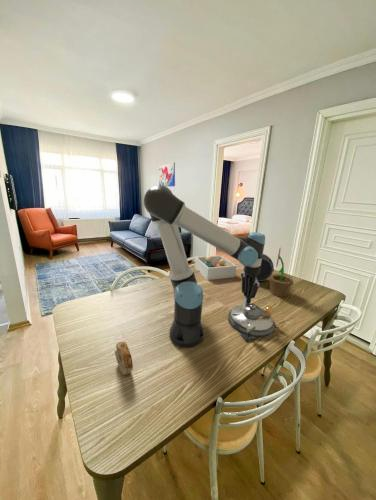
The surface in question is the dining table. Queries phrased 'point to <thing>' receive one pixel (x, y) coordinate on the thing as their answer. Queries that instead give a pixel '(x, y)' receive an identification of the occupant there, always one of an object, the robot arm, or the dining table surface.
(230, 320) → the turntable base
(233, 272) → the parts crate
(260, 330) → the turntable
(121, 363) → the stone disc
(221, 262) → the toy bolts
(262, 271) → the dark decorated bowl
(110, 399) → the dining table surface
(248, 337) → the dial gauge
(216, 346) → the dining table surface
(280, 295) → the flowerpot
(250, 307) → the cover
